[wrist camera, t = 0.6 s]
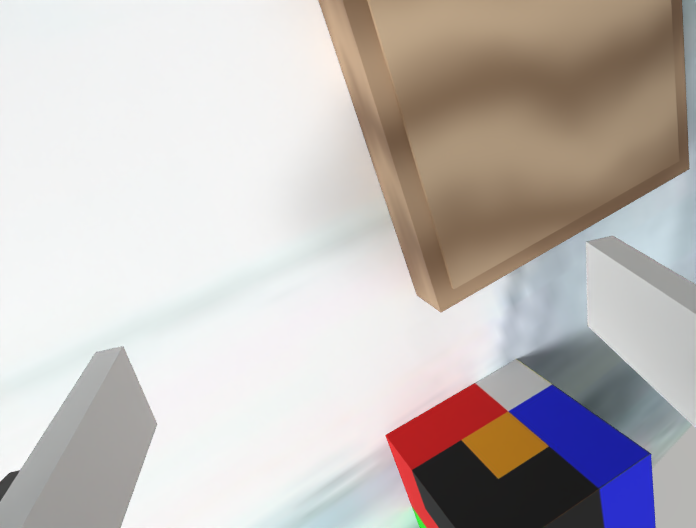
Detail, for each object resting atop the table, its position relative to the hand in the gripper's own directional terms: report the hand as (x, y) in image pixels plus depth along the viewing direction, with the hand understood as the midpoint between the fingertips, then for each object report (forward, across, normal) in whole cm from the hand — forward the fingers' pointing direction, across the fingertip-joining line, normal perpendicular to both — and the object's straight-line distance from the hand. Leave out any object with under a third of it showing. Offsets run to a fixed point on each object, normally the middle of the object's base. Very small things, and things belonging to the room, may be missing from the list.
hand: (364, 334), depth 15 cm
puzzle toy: (+14, +5, -19) cm, 24 cm away
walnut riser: (+15, +11, +4) cm, 19 cm away
